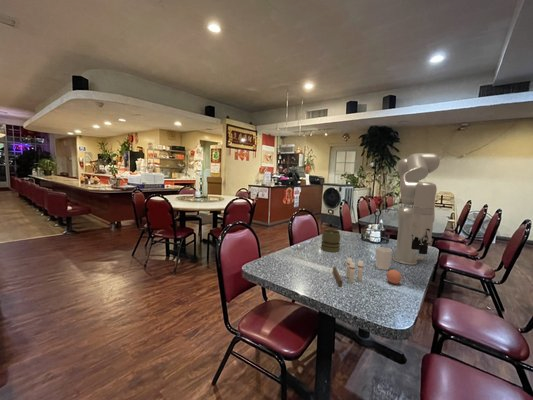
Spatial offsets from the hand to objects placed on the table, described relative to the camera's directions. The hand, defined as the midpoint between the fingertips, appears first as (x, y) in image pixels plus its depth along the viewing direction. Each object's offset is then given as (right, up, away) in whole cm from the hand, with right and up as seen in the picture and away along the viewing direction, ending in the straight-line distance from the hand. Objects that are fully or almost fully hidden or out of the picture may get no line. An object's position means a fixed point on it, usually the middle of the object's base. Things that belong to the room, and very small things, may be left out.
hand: (418, 251), depth 107 cm
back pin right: (-29, -14, +7) cm, 33 cm away
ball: (-10, -12, +2) cm, 16 cm away
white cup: (-6, -13, +21) cm, 26 cm away
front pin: (-25, -14, +4) cm, 29 cm away
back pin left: (-29, -14, +2) cm, 33 cm away
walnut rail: (-35, -14, +5) cm, 38 cm away
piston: (-26, -10, +49) cm, 57 cm away
